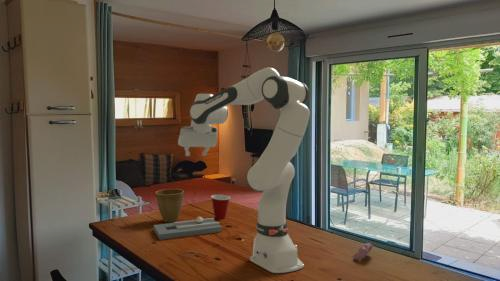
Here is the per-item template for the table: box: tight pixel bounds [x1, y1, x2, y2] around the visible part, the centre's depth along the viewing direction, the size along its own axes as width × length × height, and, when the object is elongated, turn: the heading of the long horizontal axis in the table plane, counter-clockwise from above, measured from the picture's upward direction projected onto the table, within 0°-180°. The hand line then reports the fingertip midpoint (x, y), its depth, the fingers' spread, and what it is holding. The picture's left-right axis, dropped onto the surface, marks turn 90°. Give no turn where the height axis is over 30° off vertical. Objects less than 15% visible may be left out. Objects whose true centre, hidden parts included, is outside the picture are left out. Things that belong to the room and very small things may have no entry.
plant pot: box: [155, 188, 185, 224], centre depth 201 cm, size 15×15×16 cm
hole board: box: [153, 217, 223, 241], centre depth 184 cm, size 16×30×4 cm, turn 114°
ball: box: [194, 216, 204, 224], centre depth 186 cm, size 4×4×4 cm
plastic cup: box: [210, 194, 231, 220], centre depth 208 cm, size 11×11×12 cm
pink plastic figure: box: [352, 242, 374, 261], centre depth 150 cm, size 10×5×7 cm, turn 148°
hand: (195, 155), depth 178 cm, fingers open, 8 cm apart
